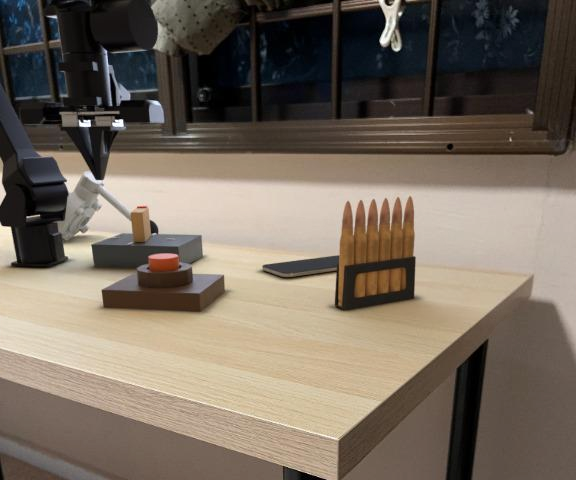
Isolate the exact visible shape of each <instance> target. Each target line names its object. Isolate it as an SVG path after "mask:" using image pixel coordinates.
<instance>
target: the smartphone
mask: <svg viewBox="0 0 576 480" xmlns="http://www.w3.org/2000/svg"><path fill="white" fill-rule="evenodd" d="M337 263H339V255H337V254H336V255H328V256H321V257H313V258H306V259H305V258H304V259H297V260H289V261H283V262H274V263H266V264H263V265H262V266H261V269H262V271H264V272H268V273H270V274H273V275H276V276H279V277H283V278H294V277H300V276H307V275H315V274H323V273H329V272H337Z"/></svg>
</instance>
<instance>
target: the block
mask: <svg viewBox="0 0 576 480" xmlns="http://www.w3.org/2000/svg"><path fill="white" fill-rule="evenodd" d="M150 220H151V219H150V209H149V207H148V205H138V206H136V208H135V209H133V210H132V211H131V221H130V223H131V230H132V231H131V233H132V234H133V241H134V242H146V241H147V239H148V238H149V237H150V236H151V229H150Z"/></svg>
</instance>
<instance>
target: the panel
mask: <svg viewBox="0 0 576 480" xmlns="http://www.w3.org/2000/svg"><path fill="white" fill-rule="evenodd" d="M203 251H204V250H203V236H202V234H177V233H176V234H174V233H173V234H170V233H158V234H156V233H154V234H151V236H150V237H149V238H148V239H147V241H146V242H134V241H133V233H128V232H127V233H124V232H123V233H119V234H117V235H114V236H111V237H107V238H106V239H103V240H100V241H97V242H93V243H91V252H92V253H91V254H92V260H93V261H92V262H93V267H94V268H115V269H119V268H120V269H136V268H138V267H140V266H142V265H145V264H149V261H148V257H149V256H150V255H154V254H164V253H169V254H177V255H178V257H179V262H181V263H187V264H190V265H192V264H193V263H194V262H196V261H197V260H199V259H200V258H202V257H204V253H203Z"/></svg>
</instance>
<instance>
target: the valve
mask: <svg viewBox="0 0 576 480" xmlns="http://www.w3.org/2000/svg"><path fill="white" fill-rule="evenodd" d="M104 186H105V182H104V180H95V178H94V176H93V174H92V172H91V171H90V170H89V171H87V170H85V171H83V173H82V174H81V177H80V178H79V180H78V182H77V183H76V185H75V187H74V189H73V191H70V190H68V194H69V196H68V199H67V207H66V215H65V221H57V223H58V230H59V232H61V234H62V240H64V241H66V242H67V241H69V240H70V239H71V238H73V237H74V236H75V235H77V234H78V233H79V232H80V233H82V234H84V235H85V234H86V233H87V232H88V230H89V229H90V227H89V226H88V223H89V222H90V220H92V218H93V216H94V215H95V213H96V212H98V211H100V210H101V209H102V207H103V205H102V203H101V202H99V198H98V197H99V195H100V196H101V197H102V198H103V199H104V200H106V201H107V203H109V204H110V205H111V206H113V207H114V208H115V209H116V210H117V211H118V212H120V214H121V215H122V216H124V217H125V218H126V219H127V220H129V221H130V222H131V212H132V211H131V210H130V209H129V208H128V207H127V206H126V205H124V203H122V202H121V201H120V200H119V199H118V198H116V197H115V196H114V194H112V193H111V192H109V190H107V189H106V188H105V187H104ZM150 229H151V234H154V233H156V234H159V226H158V225H157V223H156V222H155V221H153V220H151V219H150Z"/></svg>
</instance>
